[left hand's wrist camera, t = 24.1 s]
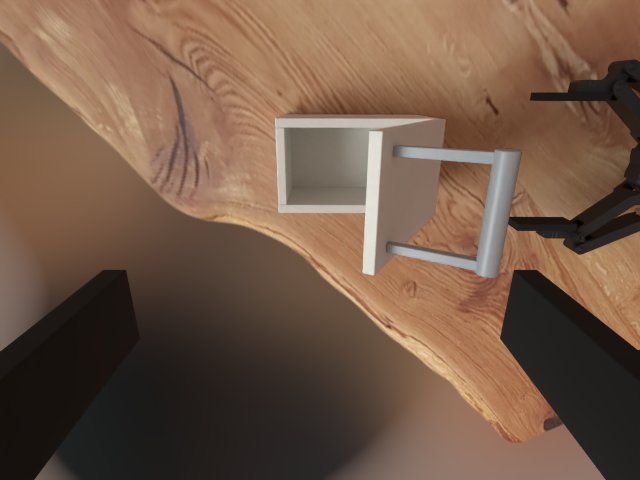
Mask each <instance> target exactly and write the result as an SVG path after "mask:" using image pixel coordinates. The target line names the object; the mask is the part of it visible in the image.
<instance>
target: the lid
mask: <svg viewBox="0 0 640 480" xmlns="http://www.w3.org/2000/svg"><path fill="white" fill-rule="evenodd" d="M445 124H446V119H433V120H427V121H421V122H416V123H410V124H404V125H399V126H393V127H387V128H381V129H376V130H370V131H369V148H368V169H367V190H366V211H365V232H364V253H363V273H365V274H369V275H373V276H374V275H375V274H376V273H377V272H378V271H379V270H380V269H381V268H382V267H383V266H384V265H385V264H386V263H387V262H388V261H389V260H390V259H391V258H392V257H393V256H394V255H395V254H397V255H402V256H407V257H411V258H416V259H421V260H426V261H431V262H436V263H441V264H445V265H450V266H455V267H460V268H465V269H470V270H474V271H475V273H476V274H477V275H479V276H482V277H487V278H494V277H497V276H498V274H499V269H500V263H501V258H502V253H503V248H504V242H505V237H506V232H507V227H508V221H509V216H510V211H511V206H512V200H513V195H514V190H515V185H516V179H517V174H518V169H519V164H520V158H521V153H522V151H521V150H518V149H510V148H498V149H495V150H494V151H489V150H473V149H457V148H443V141H444V132H445ZM441 160H443V161H456V162H468V163H481V164H492V167H491V173H490V179H489V185H488V191H487V197H486V203H485V209H484V215H483V222H482V228H481V234H480V240H479V246H478V252H477V258H476V257H471V256H466V255H461V254H455V253H450V252H445V251H440V250H434V249H429V248H424V247H419V246H413V245H408V244H406V243H407V242H408V241H409V240H410V239H411V238H412V237H413V236H414V235H415V234H416V233H417V232H418V231H419V230H420V229H421V228H422V227H423V226H424V225H425V224H426V223H427V222H428V221H429V220H430V219H431V218H432V217H433V216H434V215H435V210H436V201H437V192H438V184H439V175H440V167H441Z"/></svg>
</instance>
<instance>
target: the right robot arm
mask: <svg viewBox="0 0 640 480" xmlns="http://www.w3.org/2000/svg"><path fill="white" fill-rule="evenodd" d="M608 72H609V73H608V74H607V76H606V77H605V78H604V79H602V80H576V81H573V82H570V85H569V89H568V93H531V97H530V100H533V101H606V102H607V103H608V104H609V106H610V107H611V108H612V109H613V110H614V112H615V113H616V114H617V115H618V116H619V117H620V119H621V120H622V121H623V122H624V123H625V125H626V126H627V127H628V128H629V129H630V130H631V132H630V134H631V135H632V137H633V138H634V139H635V140H636V141H637V142H638V145H637V146H636V148H632V151H631V154H630V163H629V165H628V167H627V169H626V171H625V174H624V177H626V181H624V182H623V183H621V184H620V185H618V186H617V187H615V188H614V191H613V192H612V193H611V194H609V195H608V196H606V197H605V198H603V199H602V200H600V201H599V202H597V203H596V204H594V205H593V206H591V207H590V208H588V209H587V210H585V211H584V212H582V213H581V214H579V215H578V216H576V217H575V218H573V219H572V220H568V219H566V218H564V217H509V221H508V224H509V225H510V226H511V227H513V228H514V229H516V230H517V231H536V233H538V234H539V235H541V236H542V237H545V238H565V240H564V242H563V244H564V246H566V247H567V248H569V249H571V250H572V251H574V252H575V253H577V254H580V255H581V254H584V253H586V252H589V251H591V250H594V249H596V248H599V247H601V246H604V245H606V244H609V243H611V242H614V241H616V240H619V239H621V238H624V237H626V236H629V235H631V234H634V233H636V232H639V231H640V208H636V209H635V210H634V212H632V213H628V214H624V215H622V216H619V217H617V216H618V215H620V214H621V213H623V212H625V211H626V210H628V209H629V208H631V207H632V206H634V205H640V99H639V98H638V96H637V95H636V94H635V93H634V92H633V90H632V89H631V88H633V89H635V90H636V91H638V92H639V93H640V62H639V61H637V60H625V61H617V62H613V63H611V64H610V65H609V67H608ZM629 86H630V87H631V88H630V87H629ZM633 189H634V190H635V191H633ZM615 217H617V218H615Z"/></svg>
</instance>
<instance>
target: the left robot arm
mask: <svg viewBox="0 0 640 480" xmlns="http://www.w3.org/2000/svg"><path fill="white" fill-rule="evenodd" d="M139 339H140V337H139V332H138V327H137V322H136V317H135V312H134V307H133V302H132V297H131V292H130V288H129V283H128V278H127V273H126V270H103V271H101V272H100V273H99V274H98V275H96V276H95V277H94V278H93V279H91V280H90V281H89V282H88V283H86V284H85V285H84V286H83V287H81V288H80V289H79V290H77V291H76V292H75V293H74V294H72V295H71V296H70V297H69V298H67V299H66V300H65V301H64V302H62V303H61V304H60V305H59V306H57V307H56V308H55V309H54V310H52V311H51V312H50V313H48V314H47V315H46V316H45V317H43V318H42V319H41V320H40V321H38V322H37V323H36V324H35V325H33V326H32V327H31V328H30V329H28V330H27V331H26V332H25V333H23V334H22V335H21V336H19V337H18V338H17V339H16V340H14V341H13V342H12V343H11V344H9V345H8V346H7V347H6V348H4V349H3V350H2V351H0V480H34V479H35V478H36V477H37V475H38V474H39V473H40V471H41V470H42V469H43V467H44V466H45V465H46V463H47V462H48V461H49V459H50V458H51V457H52V455H53V454H54V453H55V451H56V450H57V449H58V447H59V446H60V445H61V443H62V442H63V441H64V439H65V438H66V437H67V435H68V434H69V433H70V431H71V430H72V429H73V427H74V426H75V424H76V423H77V422H78V421H79V419H80V418H81V417H82V415H83V414H84V412H85V411H86V410H87V408H88V407H89V406H90V405H91V403H92V402H93V401H94V399H95V398H96V396H97V395H98V394H99V392H100V391H101V390H102V389H103V387H104V386H105V384H106V383H107V382H108V380H109V379H110V378H111V377H112V375H113V374H114V372H115V371H116V370H117V368H118V367H119V366H120V364H121V363H122V362H123V360H124V359H125V358H126V356H127V355H128V354H129V352H130V351H131V350H132V348H133V347H134V346H135V344H136V343H137V342H138V340H139ZM500 339H501V340H502V342H503V343H504V344H505V346H506V347H507V348H508V350H509V351H510V352H511V354H512V355H513V356H514V358H515V359H516V360H517V362H518V363H519V365H520V366H521V367H522V369H523V370H524V371H525V373H526V374H527V375H528V377H529V378H530V379H531V381H532V382H533V383H534V385H535V386H536V387H537V389H538V390H539V391H540V393H541V394H542V395H543V397H544V398H545V399H546V401H547V402H548V403H549V405H550V406H551V407H552V409H553V410H554V411H555V413H556V414H557V415H558V417H559V418H560V419H561V421H562V422H563V423H564V425H565V426H566V427H567V429H568V430H569V431H570V433H571V434H572V435H573V437H574V438H575V439H576V441H577V442H578V443H579V445H580V446H581V447H582V449H583V450H584V451H585V453H586V454H587V455H588V457H589V458H590V459H591V460H592V462H593V463H594V465H595V466H596V467H597V469H598V470H599V471H600V473H601V474H602V475H603V477H604V478H605V479H606V480H640V350H637V349H636V348H634V347H633V346H632V345H631V344H629V343H628V342H627V341H626V340H624V339H623V338H622V337H621V336H619V335H618V334H617V333H615V332H614V331H613V330H612V329H610V328H609V327H608V326H607V325H605V324H604V323H603V322H602V321H600V320H599V319H598V318H597V317H595V316H594V315H593V314H592V313H590V312H589V311H588V310H586V309H585V308H584V307H583V306H581V305H580V304H579V303H578V302H576V301H575V300H574V299H573V298H571V297H570V296H569V295H568V294H566V293H565V292H564V291H563V290H561V289H560V288H559V287H557V286H556V285H555V284H554V283H552V282H551V281H550V280H549V279H547V278H546V277H545V276H544V275H542V274H541V273H540V272H539V271H537V270H514V273H513V278H512V283H511V287H510V292H509V297H508V302H507V307H506V312H505V317H504V322H503V327H502V332H501V337H500Z"/></svg>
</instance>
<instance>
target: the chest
mask: <svg viewBox="0 0 640 480" xmlns="http://www.w3.org/2000/svg"><path fill="white" fill-rule="evenodd" d="M433 119H439V118H433V117H427V116H421V115H385V114H284V115H282V116H279V117H277V118H275V127H276V152H277V178H278V204H279V213H365V211H366V190H367V169H368V148H369V131H370V130H376V129H381V128H387V127H393V126H399V125H404V124H410V123H416V122H421V121H427V120H433Z"/></svg>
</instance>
